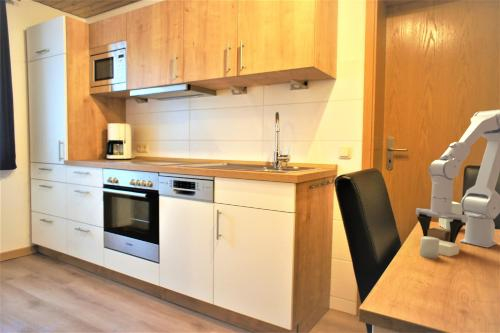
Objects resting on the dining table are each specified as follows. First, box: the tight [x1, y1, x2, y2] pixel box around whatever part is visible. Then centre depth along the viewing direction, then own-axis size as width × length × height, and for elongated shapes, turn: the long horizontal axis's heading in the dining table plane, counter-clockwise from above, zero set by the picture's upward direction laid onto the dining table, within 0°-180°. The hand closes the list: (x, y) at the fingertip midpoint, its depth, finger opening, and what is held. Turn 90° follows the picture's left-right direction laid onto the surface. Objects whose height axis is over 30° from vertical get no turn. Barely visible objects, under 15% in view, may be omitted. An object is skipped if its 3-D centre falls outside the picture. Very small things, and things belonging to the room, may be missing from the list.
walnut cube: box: [427, 227, 450, 242], centre depth 103 cm, size 5×5×5 cm
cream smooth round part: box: [419, 236, 440, 260], centre depth 91 cm, size 4×4×5 cm
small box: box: [438, 201, 463, 232], centre depth 130 cm, size 8×6×10 cm
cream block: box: [439, 240, 460, 257], centre depth 95 cm, size 6×6×3 cm
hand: (438, 240), depth 103 cm, fingers open, 7 cm apart
